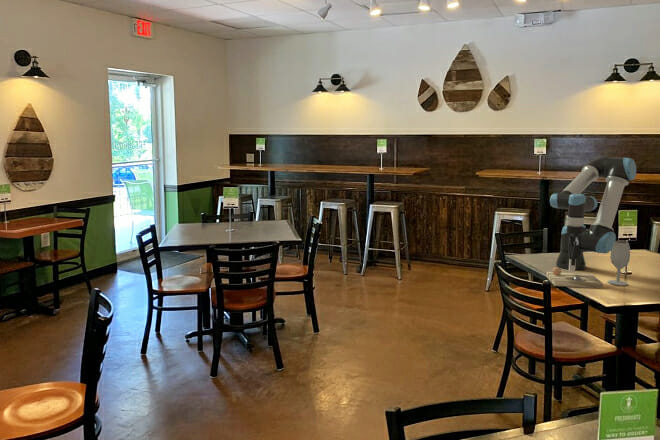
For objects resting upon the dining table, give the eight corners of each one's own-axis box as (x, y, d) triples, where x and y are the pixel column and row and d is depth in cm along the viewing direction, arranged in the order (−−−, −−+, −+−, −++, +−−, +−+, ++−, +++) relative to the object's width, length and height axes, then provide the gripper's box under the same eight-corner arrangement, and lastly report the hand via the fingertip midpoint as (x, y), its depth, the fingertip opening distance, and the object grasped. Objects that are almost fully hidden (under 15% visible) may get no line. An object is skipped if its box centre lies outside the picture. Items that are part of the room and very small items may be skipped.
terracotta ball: (551, 273, 293) (552, 266, 292) (559, 274, 292) (560, 266, 291) (553, 275, 289) (553, 267, 288) (561, 276, 288) (562, 268, 287)
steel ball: (571, 284, 282) (571, 279, 285) (578, 287, 282) (578, 282, 285) (575, 279, 279) (575, 273, 282) (583, 282, 279) (583, 276, 282)
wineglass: (631, 286, 281) (635, 243, 278) (615, 286, 280) (619, 244, 276) (619, 281, 290) (623, 240, 286) (603, 281, 288) (607, 240, 285)
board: (546, 276, 297) (546, 271, 297) (591, 278, 294) (591, 273, 294) (554, 285, 280) (554, 280, 279) (602, 288, 276) (602, 283, 276)
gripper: (563, 222, 295) (560, 267, 299) (570, 227, 282) (567, 274, 286) (579, 223, 294) (575, 268, 298) (587, 227, 281) (583, 274, 285)
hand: (571, 271), depth 292 cm, fingers closed
